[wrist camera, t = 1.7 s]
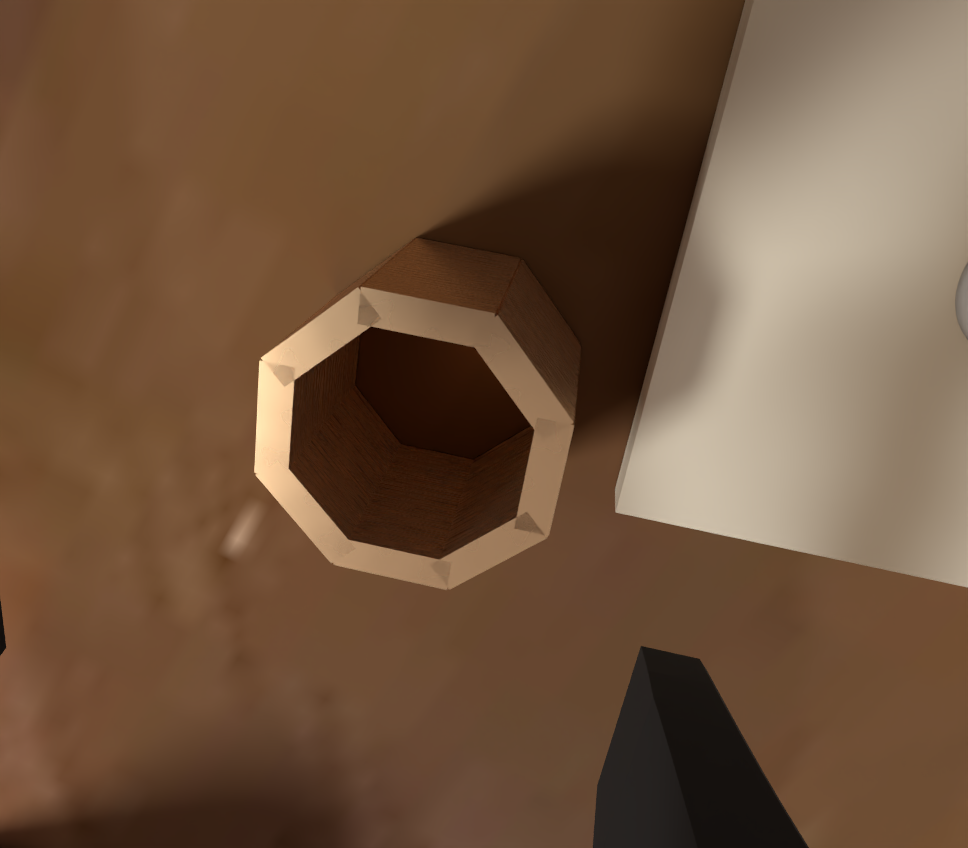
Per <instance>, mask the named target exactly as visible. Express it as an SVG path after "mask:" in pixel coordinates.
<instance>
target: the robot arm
mask: <svg viewBox="0 0 968 848" xmlns="http://www.w3.org/2000/svg"><path fill="white" fill-rule="evenodd" d="M5 648H6V643H5V634H4V626H3V617H2V609H1V601H0V655H1V654H2V653H3V651H4V650H5ZM593 848H809V847H808V846H807V844H806V843H805V841H804V839H803V838H802V836H801V834H800V833H799V831H798V830H797V828H796V826H795V825H794V823H793V821H792V820H791V818H790V816H789V815H788V813H787V812H786V810H785V808H784V807H783V805H782V803H781V802H780V800H779V798H778V797H777V795H776V793H775V791H774V790H773V788H772V786H771V785H770V783H769V781H768V780H767V778H766V776H765V774H764V773H763V771H762V769H761V767H760V766H759V764H758V762H757V760H756V759H755V757H754V755H753V753H752V751H751V750H750V748H749V746H748V744H747V743H746V741H745V739H744V737H743V736H742V734H741V732H740V730H739V728H738V727H737V725H736V723H735V721H734V719H733V717H732V716H731V714H730V712H729V710H728V708H727V707H726V705H725V703H724V701H723V699H722V697H721V696H720V694H719V692H718V690H717V688H716V686H715V685H714V683H713V681H712V679H711V677H710V675H709V674H708V672H707V670H706V669H705V667H704V665H703V664H702V662H701V661H700V659H697V658H693V657H688V656H684V655H679V654H675V653H670V652H666V651H661V650H656V649H652V648H647V647H643V646H641V648H640V651H639V654H638V657H637V660H636V664H635V667H634V670H633V673H632V676H631V680H630V683H629V686H628V689H627V692H626V696H625V699H624V702H623V705H622V708H621V712H620V715H619V718H618V721H617V724H616V728H615V731H614V734H613V737H612V740H611V744H610V747H609V750H608V753H607V756H606V760H605V763H604V766H603V769H602V772H601V776H600V779H599V782H598V785H597V798H596V812H595V825H594V839H593Z"/></svg>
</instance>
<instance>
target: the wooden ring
mask: <svg viewBox="0 0 968 848" xmlns="http://www.w3.org/2000/svg"><path fill="white" fill-rule="evenodd" d="M520 259H521V258H519V257H514V256H509V255H504V254H499V253H494V252H489V251H483V250H478V249H473V248H468V247H463V246H458V245H453V244H448V243H442V242H437V241H432V240H427V239H422V238H416V239H415V238H414V239H413V240H412V241H410V242H409V243H407V244H406V245H405V246H403V247H402V248H401V249H399V250H398V251H397V252H395V253H394V254H392V255H391V256H390V257H388V258H387V259H386V260H384V261H383V262H382V263H380V264H379V265H377V266H376V267H375V268H373V269H372V270H371V271H369V272H368V273H367V274H365V275H364V276H362V277H361V278H360V279H358V280H357V281H356V282H354V283H353V284H352V285H350V286H349V287H347V288H346V289H345V290H343V291H342V292H341V293H339V294H338V295H337V296H335V297H334V298H333V299H332V300H330V301H329V302H328V303H327V304H326V305H324V306H323V307H322V308H321V309H320V310H318V311H317V312H316V313H315V314H313V315H312V316H311V317H310V318H309V319H307V320H306V321H305V322H304V323H303V324H301V325H300V326H299V327H298V328H297V329H295V330H294V331H293V332H292V333H290V334H289V335H288V336H287V337H286V338H284V339H283V340H282V341H281V342H280V343H278V344H277V345H276V346H275V347H273V348H272V349H271V350H270V351H269V352H267V353H266V354H265V355H264V356H263V357H261V360H260V362H259V384H258V406H257V428H256V450H255V473H257V474H256V476H257V477H258V479H259V480H260V481H261V482H262V483H263V484H264V486H265V487H266V488H267V489H268V490H269V491H270V493H271V494H272V495H273V496H274V497H275V498H276V500H277V501H278V502H279V503H280V504H281V505H282V507H283V508H284V509H285V510H286V511H287V512H288V514H289V515H290V516H291V517H292V518H293V519H294V521H295V522H296V523H297V524H298V525H299V526H300V528H301V529H302V530H303V531H304V532H305V533H306V535H307V536H308V537H309V538H310V539H311V540H312V542H313V543H314V544H315V545H316V546H317V547H318V549H319V550H320V551H321V552H322V553H323V554H324V556H325V557H326V558H327V559H328V560H329V561H330V563H333V562H334V565H337V566H341V567H346V568H350V569H355V570H359V571H364V572H368V573H373V574H377V575H382V576H386V577H391V578H395V579H400V580H404V581H409V582H413V583H418V584H422V585H427V586H431V587H436V588H440V589H445V590H447V588H449V590H450V589H452V588H453V587H455V586H457V585H459V584H461V583H463V582H465V581H467V580H469V579H470V578H472V577H474V576H476V575H478V574H480V573H482V572H484V571H486V570H487V569H489V568H491V567H493V566H495V565H497V564H499V563H501V562H503V561H504V560H506V559H508V558H510V557H512V556H514V555H516V554H518V553H520V552H522V551H523V550H525V549H527V548H529V547H531V546H533V545H535V544H537V543H539V542H540V541H542V540H544V539H546V538H547V536H549V533H550V528H551V524H552V520H553V515H554V511H555V507H556V503H557V498H558V494H559V490H560V485H561V481H562V477H563V472H564V468H565V464H566V460H567V455H568V451H569V447H570V442H571V438H572V434H573V429H574V425H575V414H576V403H577V391H578V380H579V369H580V358H581V344H580V342H579V341H578V339H577V338H576V336H575V335H574V333H573V332H572V330H571V329H570V328H569V326H568V325H567V323H566V322H565V320H564V319H563V317H562V316H561V314H560V313H559V311H558V310H557V308H556V307H555V306H554V304H553V303H552V301H551V300H550V298H549V297H548V295H547V294H546V292H545V291H544V289H543V288H542V286H541V285H540V284H539V282H538V281H537V279H536V278H535V276H534V275H533V273H532V272H531V270H530V269H529V267H528V266H527V265H526V263H525V262H524V260H523V259H522V260H521V261H520ZM370 327H376V328H381V329H386V330H391V331H396V332H401V333H406V334H411V335H416V336H421V337H426V338H431V339H436V340H440V341H445V342H450V343H455V344H460V345H465V346H470V347H475V349H476V350H477V351H478V353H479V354H480V356H481V357H482V358H483V360H484V361H485V362H486V364H487V365H488V367H489V368H490V369H491V371H492V372H493V373H494V375H495V376H496V378H497V379H498V380H499V382H500V383H501V384H502V386H503V387H504V389H505V390H506V391H507V393H508V394H509V396H510V397H511V398H512V400H513V401H514V402H515V404H516V405H517V407H518V408H519V409H520V411H521V412H522V413H523V415H524V416H525V418H526V419H527V420H528V422H529V423H530V424H531V426H530V427H528V428H526V429H525V430H523V431H521V432H519V433H518V434H516V435H514V436H513V437H511V438H509V439H508V440H506V441H504V442H503V443H501V444H499V445H497V446H496V447H494V448H492V449H491V450H489V451H487V452H486V453H484V454H482V455H481V456H479V457H477V458H475V459H474V460H473V459H469V458H464V457H459V456H454V455H450V454H445V453H440V452H435V451H431V450H426V449H421V448H416V447H412V446H407V445H402V444H401V443H400V442H399V441H398V440H397V438H396V437H395V436H394V435H393V433H392V432H391V431H390V429H389V428H388V427H387V426H386V424H385V423H384V422H383V421H382V419H381V418H380V417H379V415H378V414H377V413H376V412H375V410H374V409H373V408H372V407H371V405H370V404H369V403H368V401H367V400H366V399H365V398H364V396H363V395H362V394H361V393H360V391H359V390H358V389H357V387H356V386H355V381H356V371H357V361H358V351H359V342H360V334H361V333H362V332H364V331H365V330H367V329H368V328H370Z"/></svg>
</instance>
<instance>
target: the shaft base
mask: <svg viewBox="0 0 968 848" xmlns="http://www.w3.org/2000/svg"><path fill="white" fill-rule="evenodd" d="M615 512H616V513H621V514H626V515H631V516H635V517H640V518H645V519H649V520H654V521H659V522H663V523H668V524H673V525H678V526H682V527H687V528H692V529H696V530H701V531H706V532H710V533H715V534H720V535H725V536H729V537H734V538H739V539H743V540H748V541H753V542H757V543H762V544H767V545H772V546H776V547H781V548H786V549H790V550H795V551H800V552H804V553H809V554H814V555H819V556H823V557H828V558H833V559H837V560H842V561H847V562H851V563H856V564H861V565H866V566H870V567H875V568H880V569H884V570H889V571H894V572H898V573H903V574H908V575H913V576H917V577H922V578H927V579H931V580H936V581H941V582H945V583H950V584H955V585H960V586H964V587H968V0H745V4H744V8H743V11H742V15H741V19H740V23H739V26H738V30H737V34H736V38H735V41H734V45H733V49H732V53H731V56H730V60H729V64H728V68H727V71H726V75H725V79H724V83H723V86H722V90H721V94H720V98H719V101H718V105H717V109H716V113H715V116H714V120H713V124H712V128H711V131H710V135H709V139H708V143H707V146H706V150H705V154H704V158H703V161H702V165H701V169H700V173H699V176H698V180H697V184H696V188H695V191H694V195H693V199H692V203H691V206H690V210H689V214H688V218H687V221H686V225H685V229H684V233H683V236H682V240H681V244H680V248H679V251H678V255H677V259H676V263H675V266H674V270H673V274H672V278H671V281H670V285H669V289H668V293H667V296H666V300H665V304H664V308H663V311H662V315H661V319H660V323H659V326H658V330H657V334H656V338H655V341H654V345H653V349H652V353H651V356H650V360H649V364H648V368H647V371H646V375H645V379H644V383H643V386H642V390H641V394H640V398H639V401H638V405H637V409H636V413H635V416H634V420H633V424H632V428H631V431H630V435H629V439H628V443H627V446H626V450H625V454H624V458H623V461H622V465H621V469H620V473H619V476H618V480H617V484H616V488H615Z"/></svg>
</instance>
